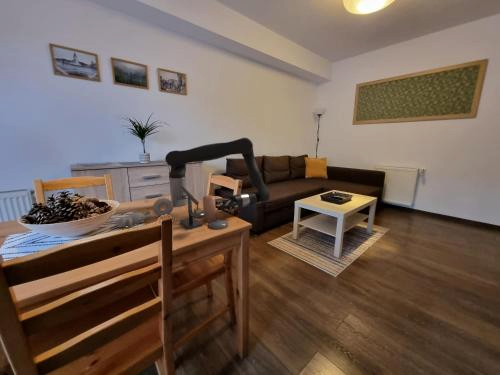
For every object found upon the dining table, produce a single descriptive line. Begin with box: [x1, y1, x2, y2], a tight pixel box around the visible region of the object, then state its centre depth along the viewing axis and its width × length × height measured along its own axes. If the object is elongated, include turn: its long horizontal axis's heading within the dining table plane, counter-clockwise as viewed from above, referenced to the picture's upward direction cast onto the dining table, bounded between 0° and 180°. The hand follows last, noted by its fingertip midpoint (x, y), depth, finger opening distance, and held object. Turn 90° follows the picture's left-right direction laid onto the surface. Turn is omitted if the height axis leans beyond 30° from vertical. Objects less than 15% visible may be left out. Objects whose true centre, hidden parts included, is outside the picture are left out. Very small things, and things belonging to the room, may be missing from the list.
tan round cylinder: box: [202, 195, 217, 223], centre depth 104 cm, size 6×6×12 cm
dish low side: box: [208, 219, 229, 230], centre depth 98 cm, size 9×9×1 cm
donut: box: [152, 197, 174, 217], centre depth 108 cm, size 10×4×10 cm, turn 120°
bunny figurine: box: [115, 210, 154, 228], centre depth 99 cm, size 10×5×15 cm
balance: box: [176, 187, 205, 231], centre depth 97 cm, size 23×7×17 cm, turn 38°
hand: (213, 206), depth 105 cm, fingers open, 8 cm apart
